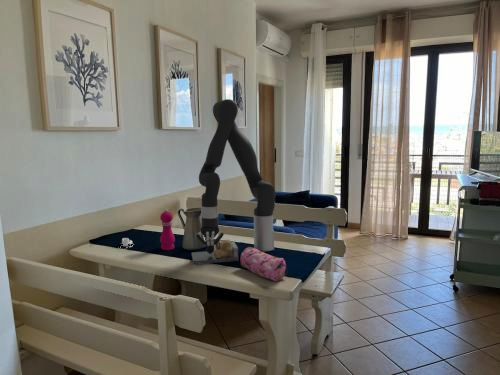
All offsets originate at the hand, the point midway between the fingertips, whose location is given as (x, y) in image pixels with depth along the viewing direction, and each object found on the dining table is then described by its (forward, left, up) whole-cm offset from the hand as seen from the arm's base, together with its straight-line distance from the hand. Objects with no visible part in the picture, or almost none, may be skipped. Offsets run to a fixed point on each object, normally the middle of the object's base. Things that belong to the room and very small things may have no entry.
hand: (210, 253), depth 167 cm
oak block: (-7, 0, -1) cm, 7 cm away
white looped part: (+37, -30, -3) cm, 48 cm away
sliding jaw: (-3, 0, -1) cm, 3 cm away
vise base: (-2, 0, -3) cm, 3 cm away
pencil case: (-19, +23, -3) cm, 30 cm away
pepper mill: (+19, -20, -3) cm, 28 cm away
